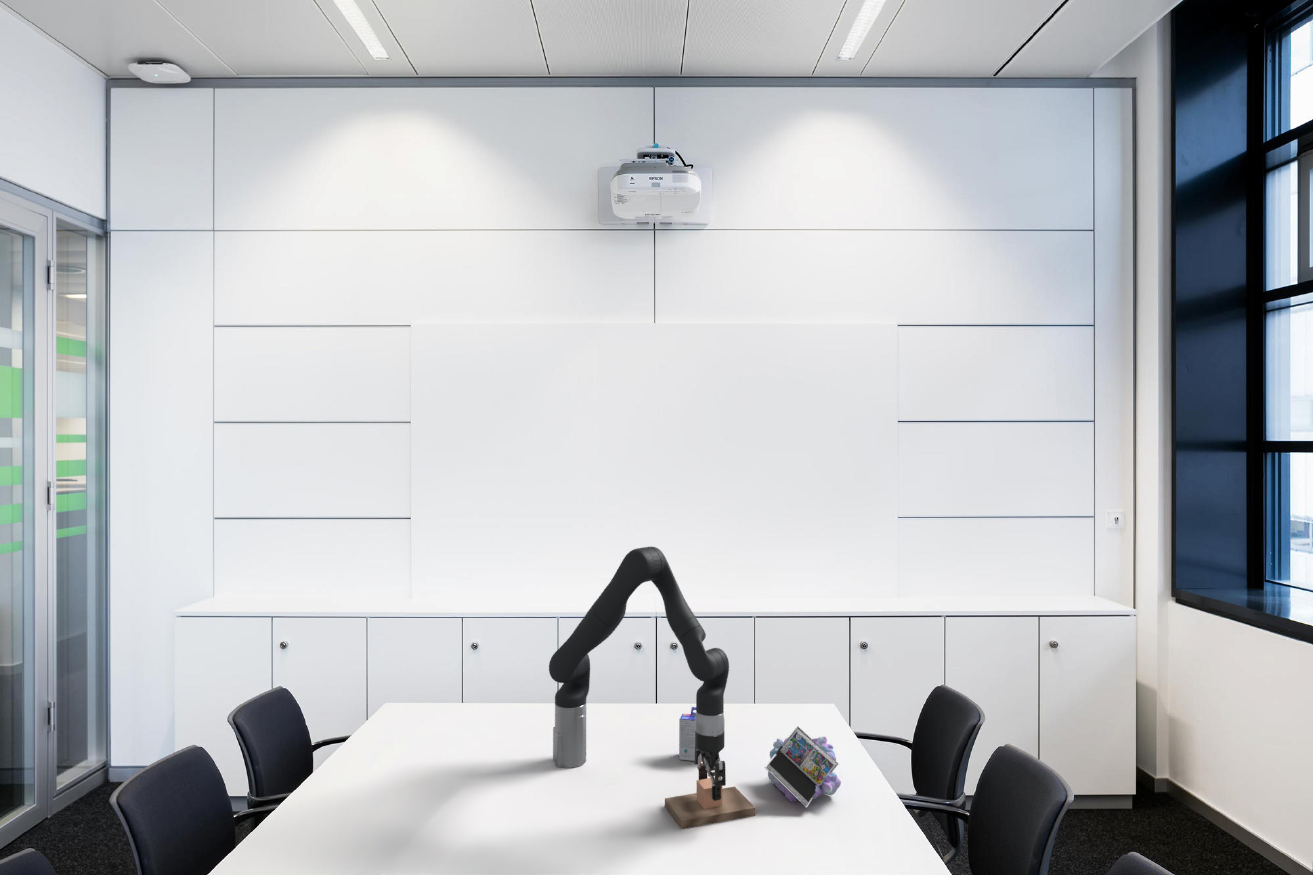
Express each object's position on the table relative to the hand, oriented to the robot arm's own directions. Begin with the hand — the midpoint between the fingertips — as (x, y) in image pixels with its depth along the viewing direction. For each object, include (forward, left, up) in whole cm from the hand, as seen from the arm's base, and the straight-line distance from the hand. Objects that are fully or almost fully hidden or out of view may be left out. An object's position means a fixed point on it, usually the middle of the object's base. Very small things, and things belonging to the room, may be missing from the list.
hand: (709, 791), depth 190 cm
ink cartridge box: (+9, +30, -5) cm, 32 cm away
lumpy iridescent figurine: (+28, +1, -5) cm, 28 cm away
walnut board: (0, 0, -5) cm, 5 cm away
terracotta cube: (0, 0, -3) cm, 3 cm away
